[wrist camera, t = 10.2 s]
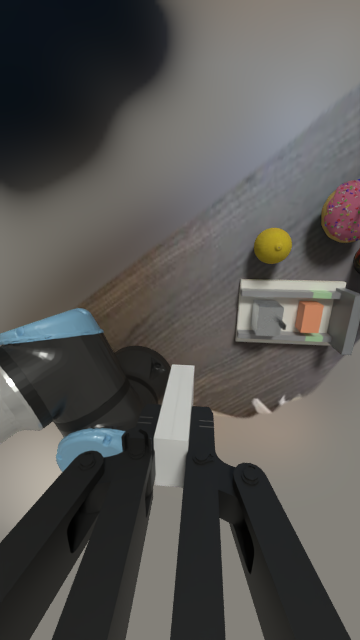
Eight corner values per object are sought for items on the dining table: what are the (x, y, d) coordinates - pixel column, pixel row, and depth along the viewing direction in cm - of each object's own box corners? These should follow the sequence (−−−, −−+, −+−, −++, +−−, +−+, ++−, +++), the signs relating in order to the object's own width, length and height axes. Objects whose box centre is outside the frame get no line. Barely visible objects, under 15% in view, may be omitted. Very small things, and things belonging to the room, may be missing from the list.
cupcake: (311, 190, 41) (352, 173, 30) (368, 181, 40) (432, 160, 29) (310, 245, 44) (347, 248, 32) (363, 237, 43) (421, 238, 31)
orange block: (294, 326, 47) (300, 332, 44) (299, 300, 46) (305, 305, 43) (311, 327, 47) (318, 333, 44) (316, 301, 45) (323, 305, 43)
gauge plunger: (250, 325, 48) (258, 341, 41) (253, 299, 46) (262, 311, 39) (272, 326, 47) (284, 342, 40) (275, 300, 46) (288, 312, 39)
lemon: (244, 251, 45) (252, 254, 37) (262, 222, 43) (275, 219, 36) (269, 267, 45) (282, 273, 38) (289, 239, 44) (307, 240, 36)
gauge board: (235, 338, 50) (240, 355, 44) (240, 278, 47) (246, 286, 40) (329, 343, 49) (349, 360, 42) (342, 281, 45) (367, 289, 38)
